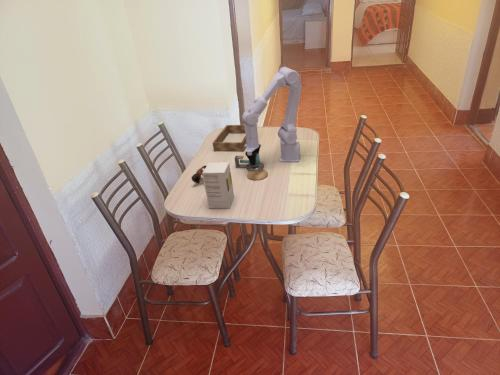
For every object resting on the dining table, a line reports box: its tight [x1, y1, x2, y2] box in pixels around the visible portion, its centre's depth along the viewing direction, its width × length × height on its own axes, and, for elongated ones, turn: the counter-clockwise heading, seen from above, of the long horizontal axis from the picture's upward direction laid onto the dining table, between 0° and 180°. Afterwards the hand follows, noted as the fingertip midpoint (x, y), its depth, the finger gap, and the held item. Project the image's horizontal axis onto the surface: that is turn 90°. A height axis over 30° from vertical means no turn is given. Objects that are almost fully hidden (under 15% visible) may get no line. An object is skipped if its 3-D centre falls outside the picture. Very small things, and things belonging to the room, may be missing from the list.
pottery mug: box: [191, 165, 207, 184], centre depth 166 cm, size 12×9×8 cm
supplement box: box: [201, 161, 235, 209], centre depth 146 cm, size 10×9×17 cm
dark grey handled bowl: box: [234, 155, 265, 172], centre depth 174 cm, size 14×9×6 cm, turn 76°
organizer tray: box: [212, 124, 247, 153], centre depth 203 cm, size 17×26×5 cm, turn 166°
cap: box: [239, 153, 261, 165], centre depth 173 cm, size 10×5×4 cm, turn 76°
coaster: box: [246, 168, 269, 182], centre depth 168 cm, size 10×10×1 cm
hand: (254, 162), depth 174 cm, fingers open, 5 cm apart
